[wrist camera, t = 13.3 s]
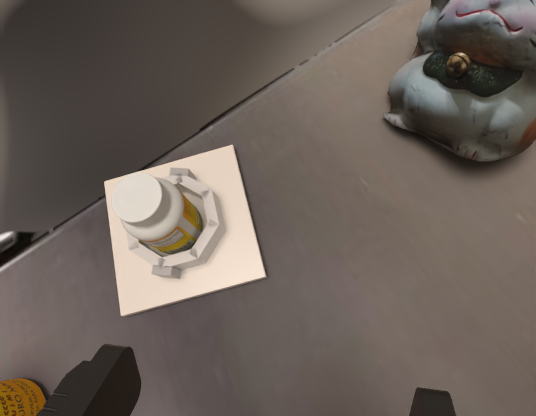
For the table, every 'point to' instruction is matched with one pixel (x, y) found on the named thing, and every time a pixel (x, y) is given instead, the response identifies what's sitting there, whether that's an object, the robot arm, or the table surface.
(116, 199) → the supplement bottle
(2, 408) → the beer can
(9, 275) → the table surface
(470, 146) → the lucky cat figurine
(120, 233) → the socket base
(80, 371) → the robot arm
